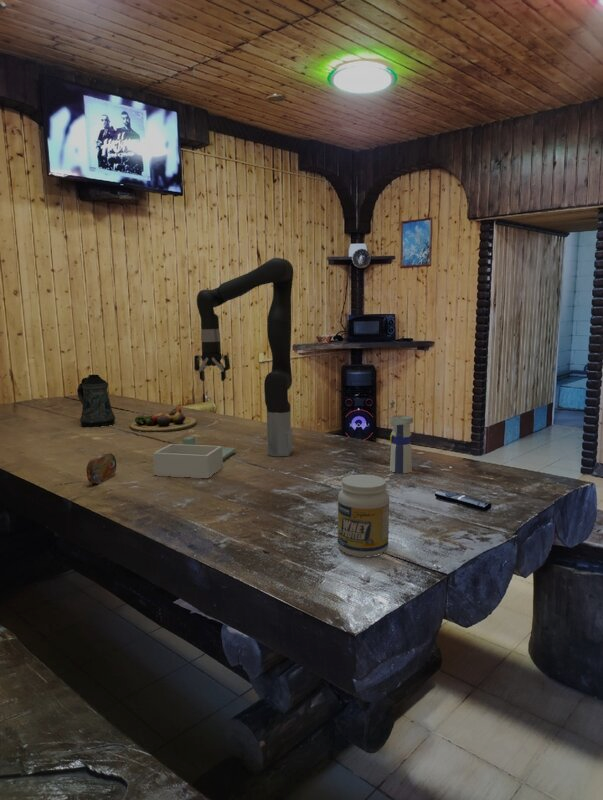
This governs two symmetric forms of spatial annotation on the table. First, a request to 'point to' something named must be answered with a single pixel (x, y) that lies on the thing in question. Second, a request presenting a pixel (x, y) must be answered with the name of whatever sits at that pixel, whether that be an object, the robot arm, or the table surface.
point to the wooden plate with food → (163, 422)
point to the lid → (225, 450)
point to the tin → (101, 468)
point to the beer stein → (95, 402)
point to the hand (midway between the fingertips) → (212, 380)
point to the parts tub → (188, 461)
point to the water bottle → (400, 443)
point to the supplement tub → (363, 515)
